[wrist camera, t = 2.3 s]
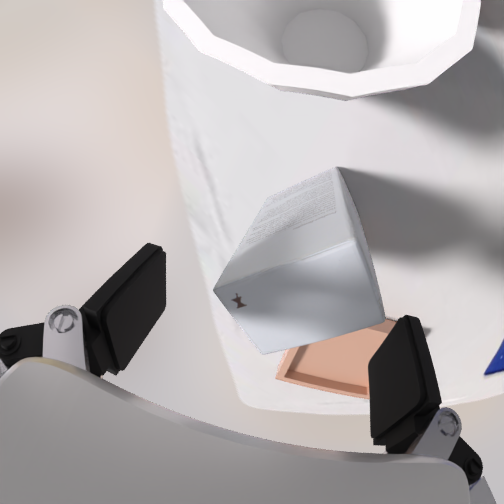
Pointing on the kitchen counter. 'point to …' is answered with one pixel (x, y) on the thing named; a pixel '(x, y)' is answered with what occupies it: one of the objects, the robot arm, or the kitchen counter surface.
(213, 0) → the foam cup
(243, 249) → the skincare box
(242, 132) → the kitchen counter surface
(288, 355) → the tray
